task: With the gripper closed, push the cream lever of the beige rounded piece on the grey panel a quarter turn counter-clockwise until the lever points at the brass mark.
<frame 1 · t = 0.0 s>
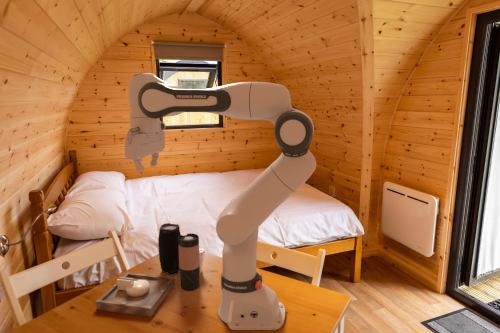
hand: (147, 168, 110), 48 cm above the table, tool pointing down, fingers open, 8 cm apart
panel: (138, 296, 123), on the table
beige rounded piece: (133, 284, 122), point 4 cm above the table, hinge at 0.0°
smoothie: (197, 272, 140), on the table
portable speaker: (171, 270, 141), on the table
travel mug: (190, 286, 130), on the table
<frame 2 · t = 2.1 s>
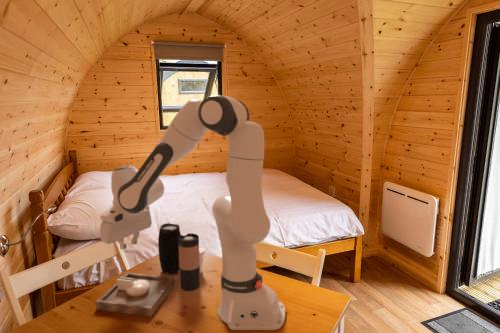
hand: (129, 246, 124), 17 cm above the table, tool pointing down, fingers open, 3 cm apart
nothing on the table moved.
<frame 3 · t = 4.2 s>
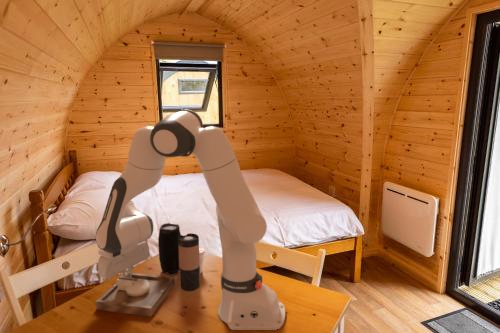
hand: (126, 278, 125), 5 cm above the table, tool pointing down, fingers closed
beige rounded piece: (133, 284, 122), point 4 cm above the table, hinge at 0.0°, touching gripper
everything else where it was.
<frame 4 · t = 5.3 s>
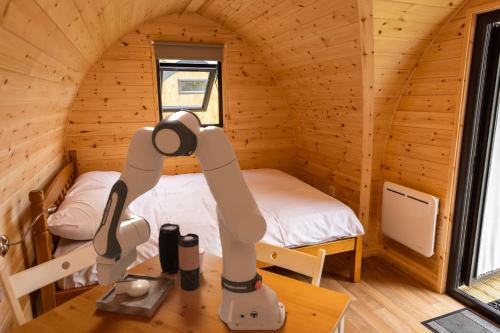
hand: (120, 283, 122), 5 cm above the table, tool pointing down, fingers closed, pressing on beige rounded piece
beige rounded piece: (132, 285, 122), point 4 cm above the table, hinge at 22.4°, touching gripper
everything else where it was.
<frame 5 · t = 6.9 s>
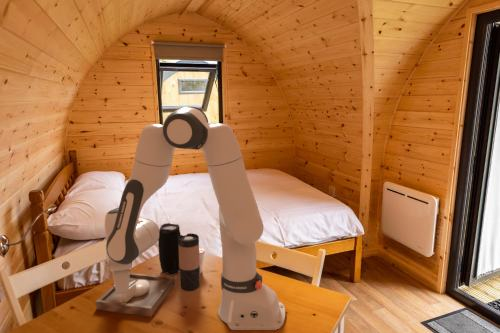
hand: (122, 290, 117), 5 cm above the table, tool pointing down, fingers closed, pressing on beige rounded piece
beige rounded piece: (134, 287, 120), point 4 cm above the table, hinge at 81.2°, touching gripper
everything else where it was.
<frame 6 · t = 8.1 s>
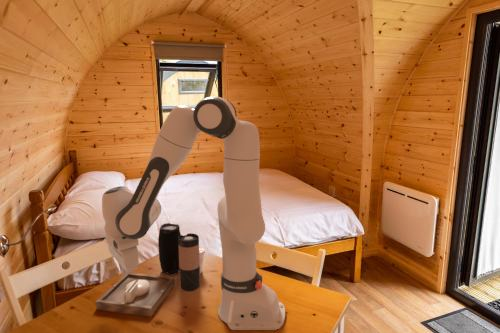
hand: (124, 273, 115), 12 cm above the table, tool pointing down, fingers closed
beige rounded piece: (135, 287, 120), point 4 cm above the table, hinge at 94.4°
everything else where it was.
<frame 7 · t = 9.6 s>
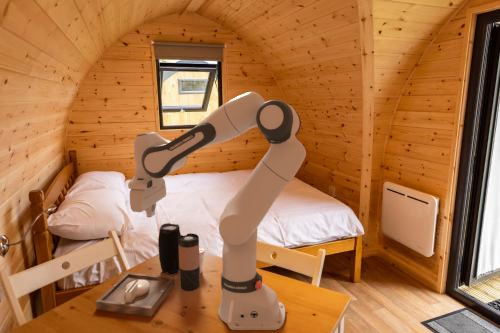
hand: (150, 216, 121), 29 cm above the table, tool pointing down, fingers closed
nothing on the table moved.
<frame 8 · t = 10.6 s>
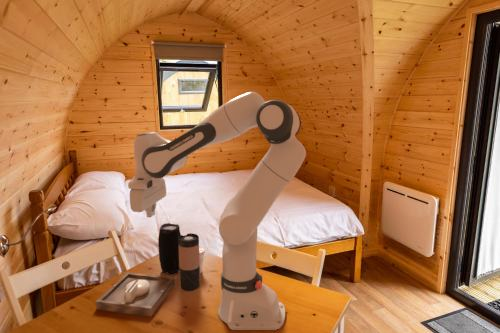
hand: (150, 216, 121), 29 cm above the table, tool pointing down, fingers closed
nothing on the table moved.
at the end: beige rounded piece at +94° (first picture: +0°) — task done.
